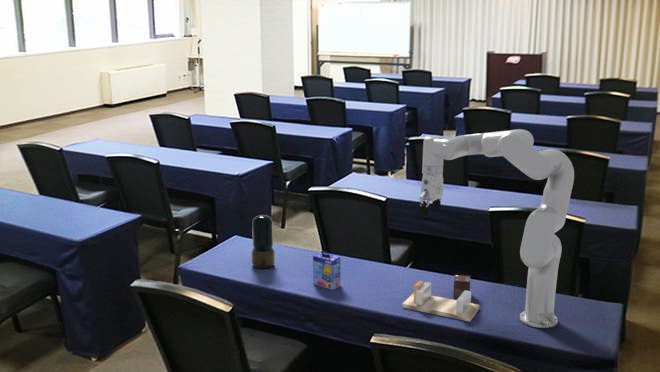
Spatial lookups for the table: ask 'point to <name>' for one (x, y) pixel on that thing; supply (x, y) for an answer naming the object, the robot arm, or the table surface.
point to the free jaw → (422, 292)
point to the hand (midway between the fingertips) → (430, 213)
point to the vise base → (441, 307)
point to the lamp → (262, 242)
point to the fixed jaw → (463, 302)
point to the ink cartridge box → (326, 270)
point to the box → (460, 285)
